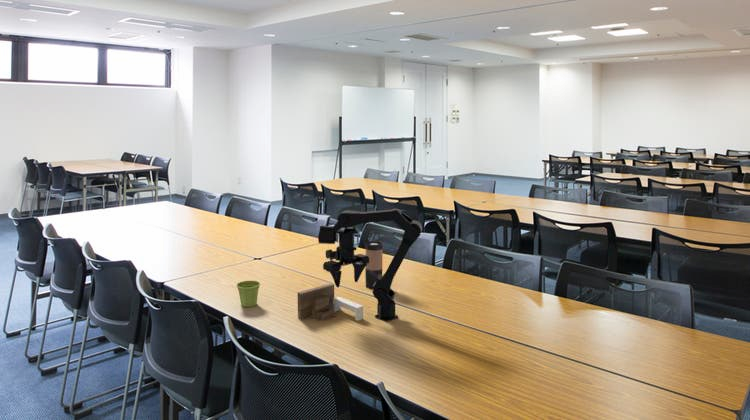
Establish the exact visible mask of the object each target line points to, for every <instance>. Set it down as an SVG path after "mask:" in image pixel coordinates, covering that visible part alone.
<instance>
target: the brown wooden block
mask: <svg viewBox="0 0 750 420" xmlns="http://www.w3.org/2000/svg"><path fill="white" fill-rule="evenodd" d="M333 298H335V283H334V284H333V283H328V284H324V285H320V286H317V287H316V286H315V287H312V288H308V289H305V290H301V291H299V292H297V319H298V320H299V319H300V320H304V319H306V318H310V317H313V318H315V319H316V320H318V321H322V322H323V321H326V320H330V319H333V318H335V317H336V311H335V310H334V309H333Z"/></svg>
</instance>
